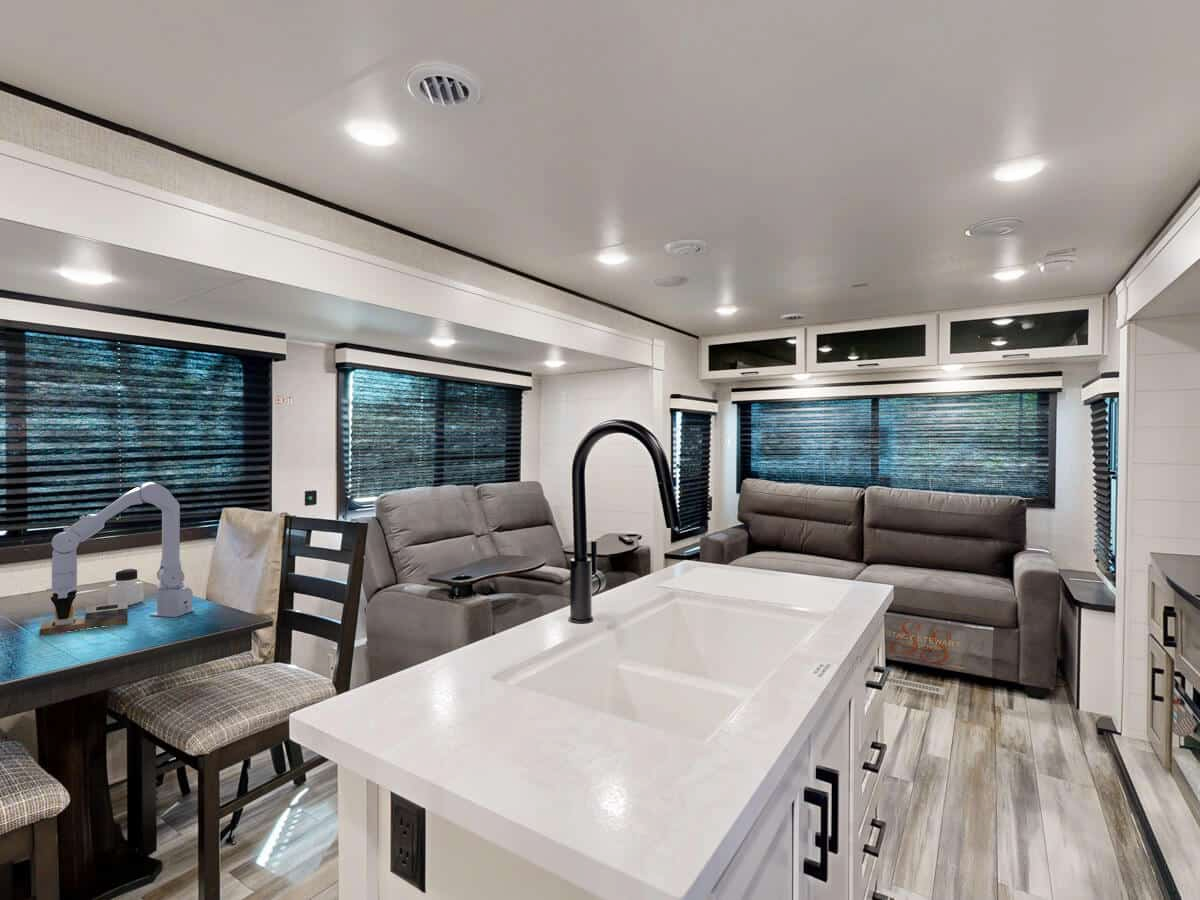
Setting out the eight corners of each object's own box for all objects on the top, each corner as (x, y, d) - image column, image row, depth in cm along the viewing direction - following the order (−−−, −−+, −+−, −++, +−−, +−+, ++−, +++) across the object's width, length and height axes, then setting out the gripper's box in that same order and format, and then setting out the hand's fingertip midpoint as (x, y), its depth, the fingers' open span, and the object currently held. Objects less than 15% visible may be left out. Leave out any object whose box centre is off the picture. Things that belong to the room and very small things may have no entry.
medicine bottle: (144, 601, 212) (144, 568, 212) (126, 607, 205) (126, 572, 205) (125, 600, 213) (126, 567, 212) (107, 606, 205) (107, 571, 205)
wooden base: (127, 617, 193) (127, 601, 193) (127, 624, 186) (127, 608, 186) (42, 628, 180) (42, 611, 180) (39, 636, 173) (39, 618, 173)
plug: (73, 624, 183) (74, 602, 183) (73, 627, 180) (73, 605, 180) (56, 626, 180) (56, 604, 180) (55, 629, 177) (55, 607, 177)
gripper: (48, 569, 183) (48, 613, 183) (44, 578, 172) (43, 625, 172) (79, 567, 187) (78, 610, 188) (76, 575, 176) (76, 621, 176)
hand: (64, 617), depth 180 cm, fingers closed on plug, 4 cm apart
